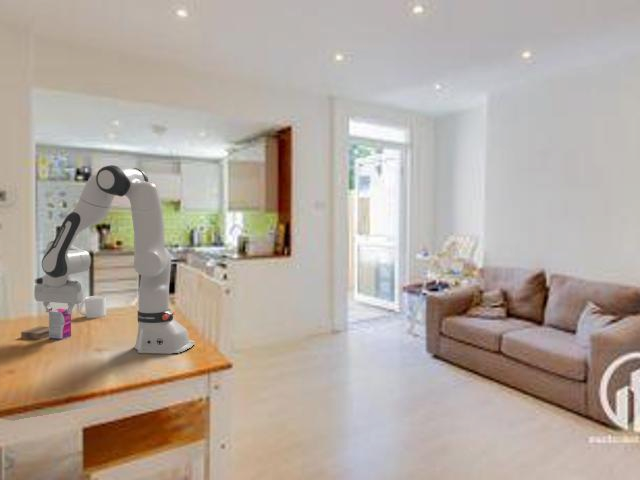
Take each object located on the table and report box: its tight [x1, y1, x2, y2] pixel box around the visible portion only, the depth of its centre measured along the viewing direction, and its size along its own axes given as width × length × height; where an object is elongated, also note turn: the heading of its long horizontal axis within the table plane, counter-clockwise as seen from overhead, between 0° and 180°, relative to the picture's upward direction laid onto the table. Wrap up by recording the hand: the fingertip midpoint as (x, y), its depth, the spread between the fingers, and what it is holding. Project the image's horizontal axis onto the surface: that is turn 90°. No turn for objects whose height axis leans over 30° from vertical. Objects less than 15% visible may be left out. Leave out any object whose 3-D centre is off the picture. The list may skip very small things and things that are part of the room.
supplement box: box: [48, 308, 72, 341], centre depth 177 cm, size 6×6×12 cm
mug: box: [78, 295, 107, 319], centre depth 212 cm, size 12×9×9 cm
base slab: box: [20, 325, 49, 340], centre depth 179 cm, size 9×9×2 cm
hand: (59, 313), depth 177 cm, fingers open, 8 cm apart
